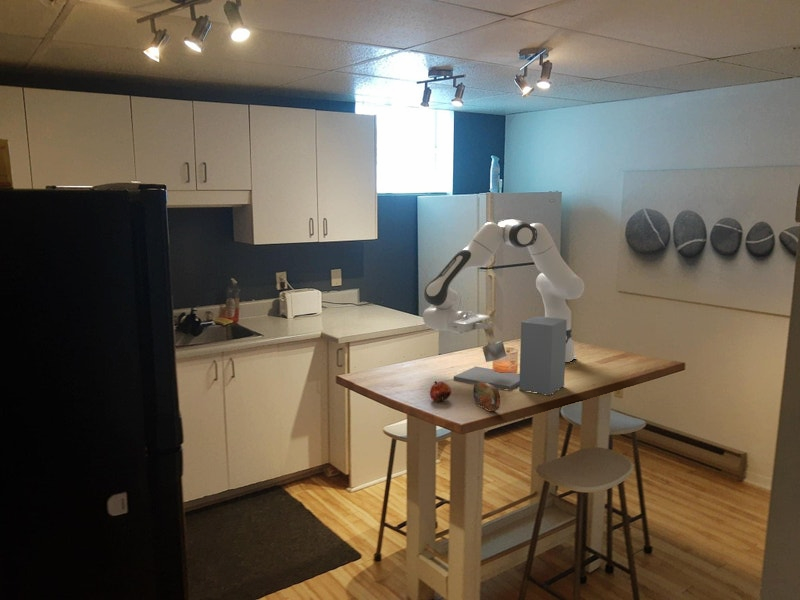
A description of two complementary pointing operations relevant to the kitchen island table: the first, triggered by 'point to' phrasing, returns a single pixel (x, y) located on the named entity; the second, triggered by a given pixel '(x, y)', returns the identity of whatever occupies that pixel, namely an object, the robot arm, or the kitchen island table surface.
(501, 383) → the board
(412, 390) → the kitchen island table surface
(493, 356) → the mallet
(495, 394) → the tin
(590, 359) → the kitchen island table surface
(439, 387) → the pomegranate
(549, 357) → the stand
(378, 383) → the kitchen island table surface
